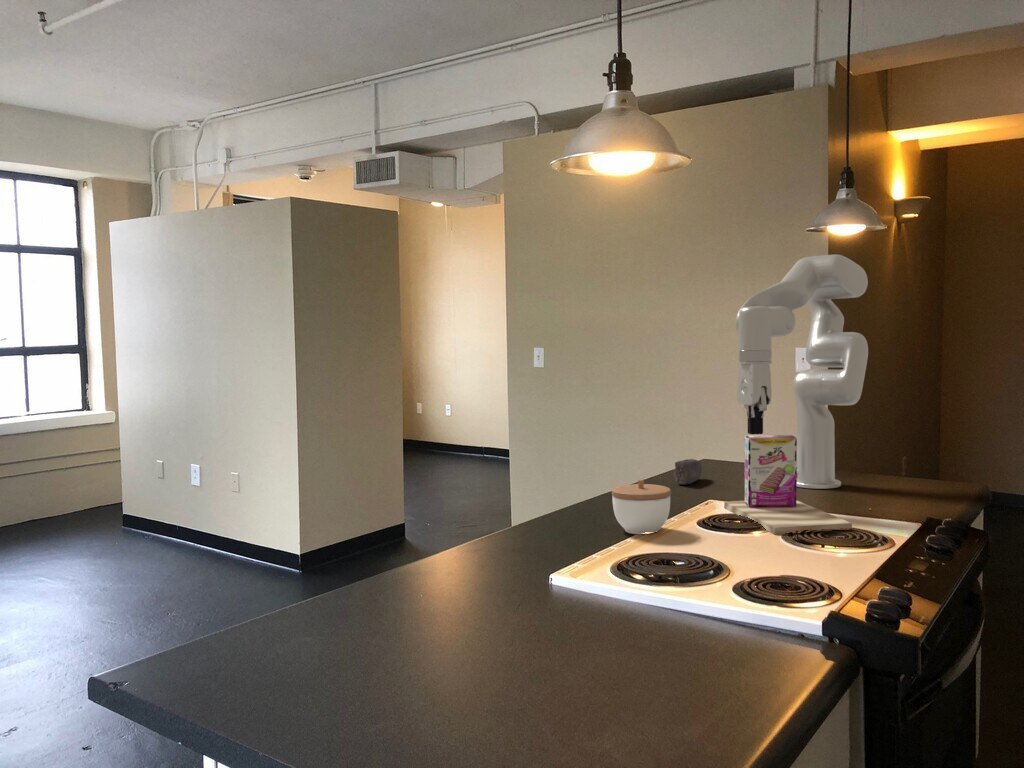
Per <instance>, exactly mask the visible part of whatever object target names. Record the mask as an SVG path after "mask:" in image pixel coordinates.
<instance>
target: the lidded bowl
mask: <svg viewBox="0 0 1024 768" xmlns="http://www.w3.org/2000/svg"><path fill="white" fill-rule="evenodd" d="M671 495H672V490H671V488H670V487H668V486H665V485H660V484H653V483H650V484H649V483H645V480H644V479H638V480H637V483H633V484H620V485H617V486H615V487H613V488H611V496H612V500H611V501H612V508H613V514H614V516H615V519H616V521H617V522H618V524H619V525H620V526H621V527H622V528H623V529H624V531H625V532H626V533H627V534H632V535H641V533H645V532H656V531H658V530H660V529H661V528H662V527H663V526H664V525H665V524H666V522H667V521H668V518H669V515H670V510H671ZM658 532H659V531H658Z"/></svg>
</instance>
